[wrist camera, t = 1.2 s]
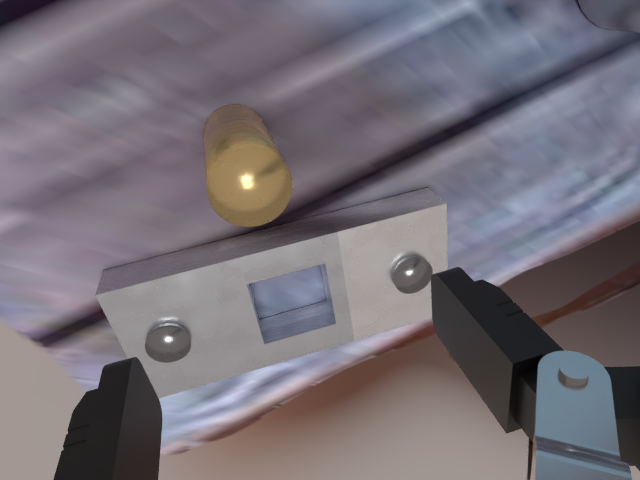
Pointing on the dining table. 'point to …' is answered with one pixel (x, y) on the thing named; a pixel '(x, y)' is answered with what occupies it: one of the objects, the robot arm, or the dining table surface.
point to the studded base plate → (270, 261)
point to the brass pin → (244, 168)
